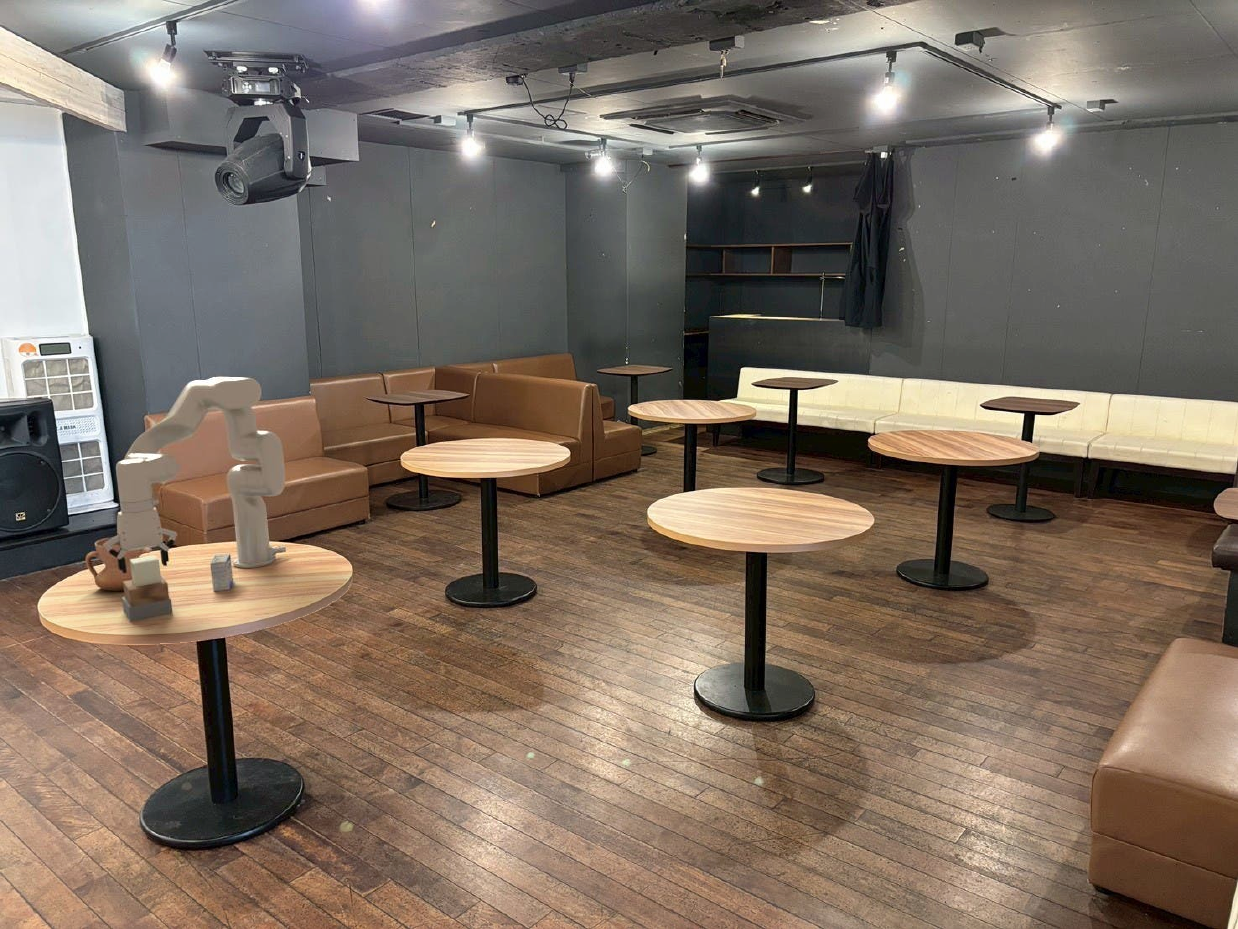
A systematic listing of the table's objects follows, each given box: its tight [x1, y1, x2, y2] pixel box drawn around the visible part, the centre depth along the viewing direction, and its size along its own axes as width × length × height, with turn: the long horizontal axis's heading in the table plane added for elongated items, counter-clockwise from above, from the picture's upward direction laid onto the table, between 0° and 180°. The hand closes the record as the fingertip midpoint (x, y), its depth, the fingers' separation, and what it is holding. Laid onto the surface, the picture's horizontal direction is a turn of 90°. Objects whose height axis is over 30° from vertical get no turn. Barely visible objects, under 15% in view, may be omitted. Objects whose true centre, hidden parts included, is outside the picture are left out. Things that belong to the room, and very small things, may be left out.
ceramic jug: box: [85, 536, 153, 592], centre depth 252 cm, size 18×14×14 cm
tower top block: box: [123, 575, 170, 607], centre depth 232 cm, size 9×9×4 cm
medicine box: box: [209, 553, 234, 592], centre depth 252 cm, size 8×4×9 cm, turn 17°
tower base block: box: [121, 596, 174, 623], centre depth 233 cm, size 10×10×4 cm
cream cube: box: [130, 554, 162, 587], centre depth 231 cm, size 6×6×6 cm
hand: (144, 568), depth 231 cm, fingers open, 9 cm apart
